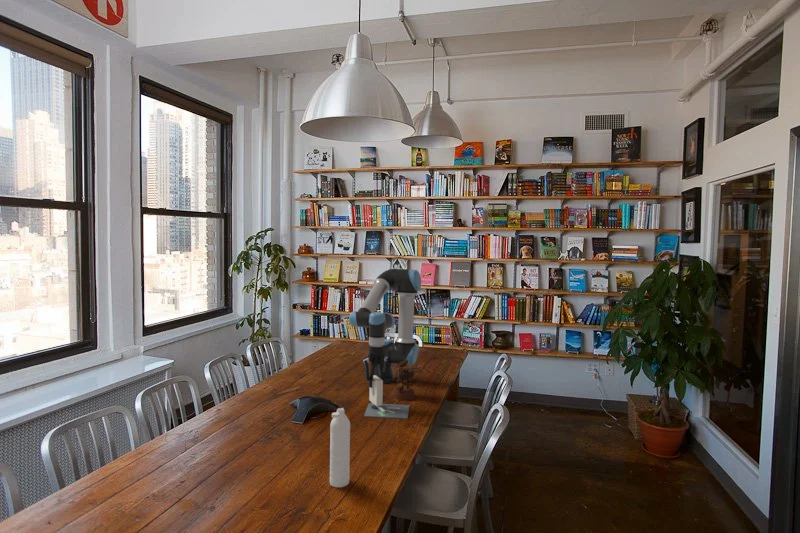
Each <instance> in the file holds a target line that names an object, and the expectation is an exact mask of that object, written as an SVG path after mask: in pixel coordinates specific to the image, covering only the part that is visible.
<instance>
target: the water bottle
mask: <svg viewBox="0 0 800 533" xmlns="http://www.w3.org/2000/svg"><path fill="white" fill-rule="evenodd" d="M345 411H346V410H345V409H344V407H338V408H337V409H336V412H335V411H334V412H332V413H331V417H332V419H331V422H330V425H329V429H330V434H329V435H330V437H329V439H330V440H329V441H330V442H329V445H330V446H329V453H330V454H329V484H330V486H332V487H334V488H345V487H347V486H348V485H349V484H350V466H351V463H350V461H351V458H350V456H351V452H350V451H351V442H350V441H351V422H350V419H349V418H348V417H347V415H346V413H345Z"/></svg>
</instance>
